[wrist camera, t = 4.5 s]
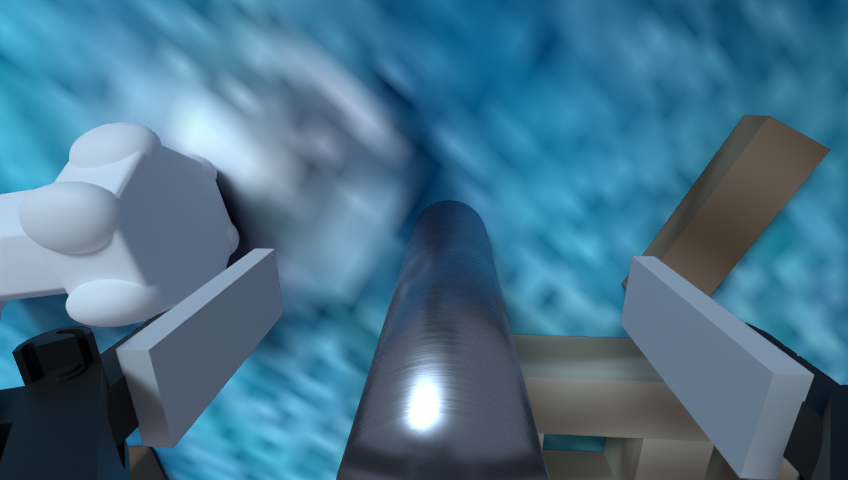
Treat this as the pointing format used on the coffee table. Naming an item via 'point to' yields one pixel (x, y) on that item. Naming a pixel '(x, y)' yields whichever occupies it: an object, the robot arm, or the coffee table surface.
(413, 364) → the peg
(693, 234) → the walnut slat
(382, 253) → the coffee table surface
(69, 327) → the robot arm
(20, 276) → the bone shaped toy
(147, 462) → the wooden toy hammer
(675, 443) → the socket block
